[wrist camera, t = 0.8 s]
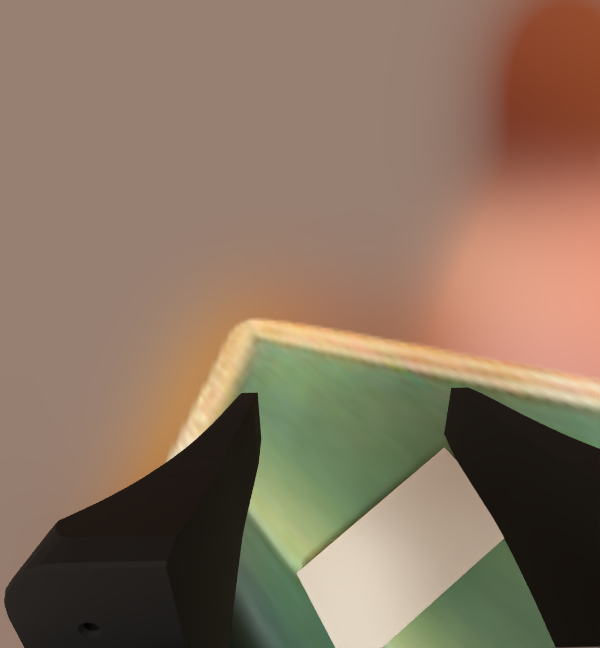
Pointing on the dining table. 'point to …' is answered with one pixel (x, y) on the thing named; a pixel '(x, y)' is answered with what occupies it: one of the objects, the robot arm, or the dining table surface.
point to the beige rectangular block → (400, 556)
